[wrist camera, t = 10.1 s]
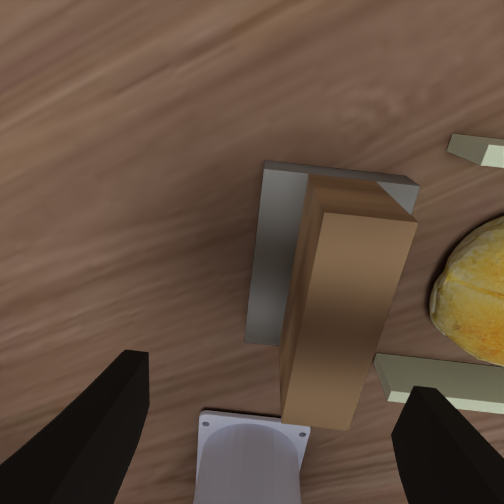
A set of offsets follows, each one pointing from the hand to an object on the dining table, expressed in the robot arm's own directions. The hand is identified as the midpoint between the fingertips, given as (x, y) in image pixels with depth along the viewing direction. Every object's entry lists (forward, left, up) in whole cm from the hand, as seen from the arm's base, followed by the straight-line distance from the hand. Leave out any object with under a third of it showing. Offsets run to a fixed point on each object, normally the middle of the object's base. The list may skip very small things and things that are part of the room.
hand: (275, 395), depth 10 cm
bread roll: (-1, -13, -11) cm, 17 cm away
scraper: (-1, -3, -11) cm, 11 cm away
